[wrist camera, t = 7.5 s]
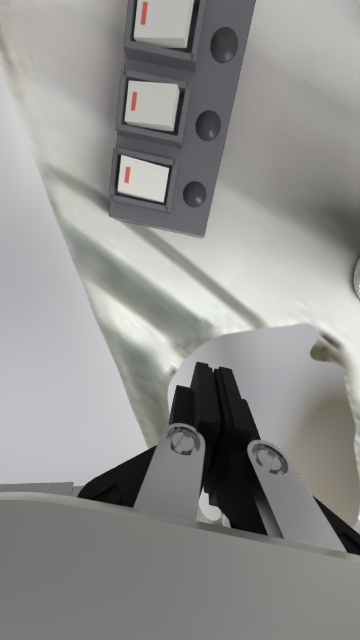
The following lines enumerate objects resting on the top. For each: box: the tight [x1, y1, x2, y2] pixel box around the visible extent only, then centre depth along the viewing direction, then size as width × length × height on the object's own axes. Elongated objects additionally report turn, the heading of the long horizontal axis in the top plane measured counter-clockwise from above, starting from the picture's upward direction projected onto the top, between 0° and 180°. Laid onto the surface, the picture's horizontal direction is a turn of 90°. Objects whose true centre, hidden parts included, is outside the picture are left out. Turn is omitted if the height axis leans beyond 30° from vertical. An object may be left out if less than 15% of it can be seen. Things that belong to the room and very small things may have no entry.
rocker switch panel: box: [109, 0, 256, 238], centre depth 30 cm, size 14×26×6 cm, turn 169°
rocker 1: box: [134, 0, 194, 48], centre depth 25 cm, size 6×4×1 cm, turn 79°
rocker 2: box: [118, 155, 169, 204], centre depth 29 cm, size 6×4×1 cm, turn 79°
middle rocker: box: [125, 81, 180, 131], centre depth 27 cm, size 6×4×1 cm, turn 79°
